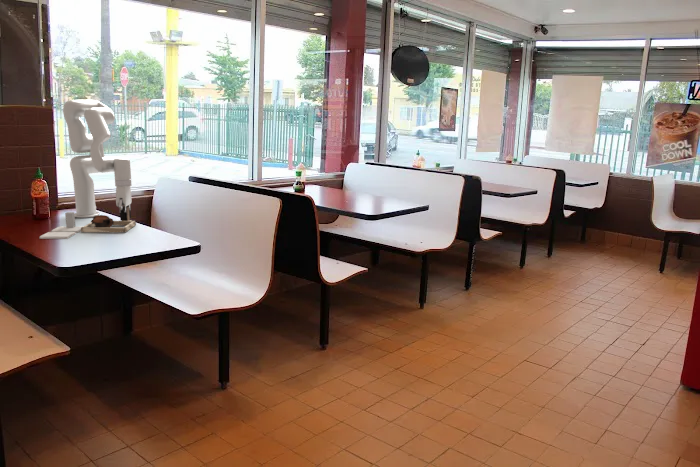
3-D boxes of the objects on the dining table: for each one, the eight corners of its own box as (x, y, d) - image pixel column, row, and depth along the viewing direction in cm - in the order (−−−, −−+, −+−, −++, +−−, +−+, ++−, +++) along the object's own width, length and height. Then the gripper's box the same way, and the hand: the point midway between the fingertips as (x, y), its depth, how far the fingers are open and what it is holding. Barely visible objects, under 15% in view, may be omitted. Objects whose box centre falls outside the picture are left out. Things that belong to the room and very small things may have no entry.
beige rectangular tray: (99, 221, 299) (97, 206, 297) (139, 222, 300) (138, 206, 298) (81, 232, 276) (79, 215, 274) (125, 232, 277) (123, 215, 275)
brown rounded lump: (86, 233, 278) (86, 216, 281) (100, 237, 287) (100, 221, 289) (107, 228, 275) (107, 211, 277) (121, 233, 284) (121, 217, 286)
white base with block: (59, 228, 284) (58, 212, 282) (85, 228, 285) (83, 212, 283) (39, 238, 263) (37, 221, 262) (67, 238, 264) (65, 221, 262)
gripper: (121, 180, 301) (123, 215, 305) (109, 185, 284) (112, 222, 288) (136, 180, 301) (138, 215, 305) (125, 185, 285) (128, 222, 289)
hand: (125, 218), depth 297 cm, fingers open, 5 cm apart
